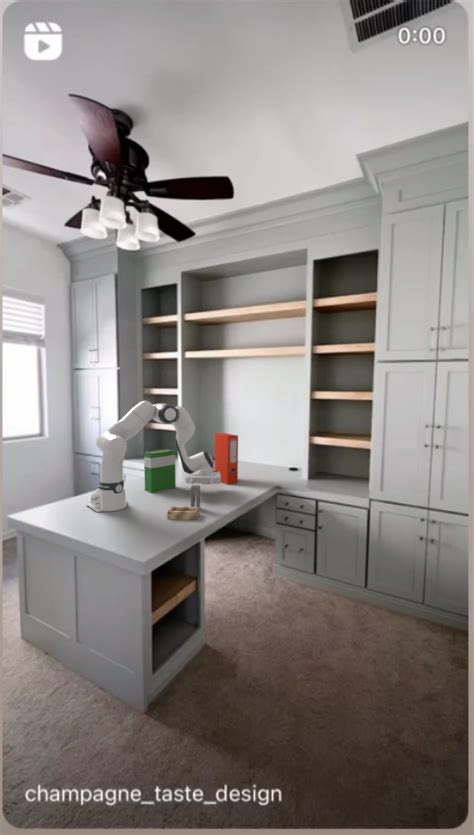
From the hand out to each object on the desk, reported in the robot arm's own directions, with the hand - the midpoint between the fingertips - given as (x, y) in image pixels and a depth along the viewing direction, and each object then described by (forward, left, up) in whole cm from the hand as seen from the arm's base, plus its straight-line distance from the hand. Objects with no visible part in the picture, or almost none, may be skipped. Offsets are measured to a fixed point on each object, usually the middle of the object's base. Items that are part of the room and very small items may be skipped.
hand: (200, 482), depth 204 cm
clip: (+6, -11, -11) cm, 16 cm away
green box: (-38, +5, -11) cm, 40 cm away
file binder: (-17, +45, -11) cm, 49 cm away
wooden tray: (+9, -23, -11) cm, 27 cm away
